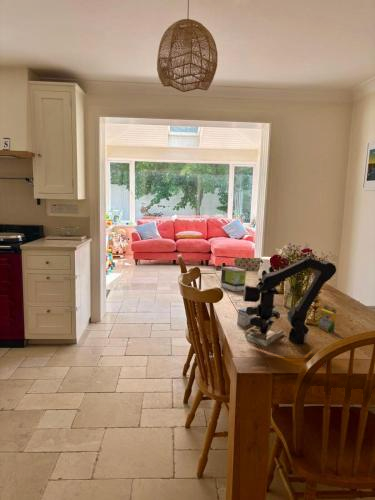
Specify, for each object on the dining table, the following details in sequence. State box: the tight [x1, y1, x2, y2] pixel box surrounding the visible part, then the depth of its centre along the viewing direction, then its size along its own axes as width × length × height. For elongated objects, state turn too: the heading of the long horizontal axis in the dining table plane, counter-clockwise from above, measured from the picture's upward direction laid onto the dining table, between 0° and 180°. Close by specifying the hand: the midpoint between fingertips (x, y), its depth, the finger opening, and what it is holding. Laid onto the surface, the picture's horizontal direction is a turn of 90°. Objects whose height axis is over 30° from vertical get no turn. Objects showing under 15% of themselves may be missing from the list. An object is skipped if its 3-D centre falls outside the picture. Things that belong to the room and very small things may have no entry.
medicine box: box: [236, 305, 254, 327], centre depth 176 cm, size 8×4×9 cm, turn 141°
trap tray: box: [244, 326, 284, 347], centre depth 160 cm, size 12×19×3 cm, turn 143°
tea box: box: [220, 266, 247, 292], centre depth 250 cm, size 15×10×15 cm, turn 34°
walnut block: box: [252, 331, 267, 340], centre depth 155 cm, size 4×5×3 cm
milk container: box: [257, 256, 275, 280], centre depth 286 cm, size 17×17×18 cm
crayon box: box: [318, 304, 337, 333], centre depth 177 cm, size 7×3×12 cm, turn 29°
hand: (263, 336), depth 158 cm, fingers closed
